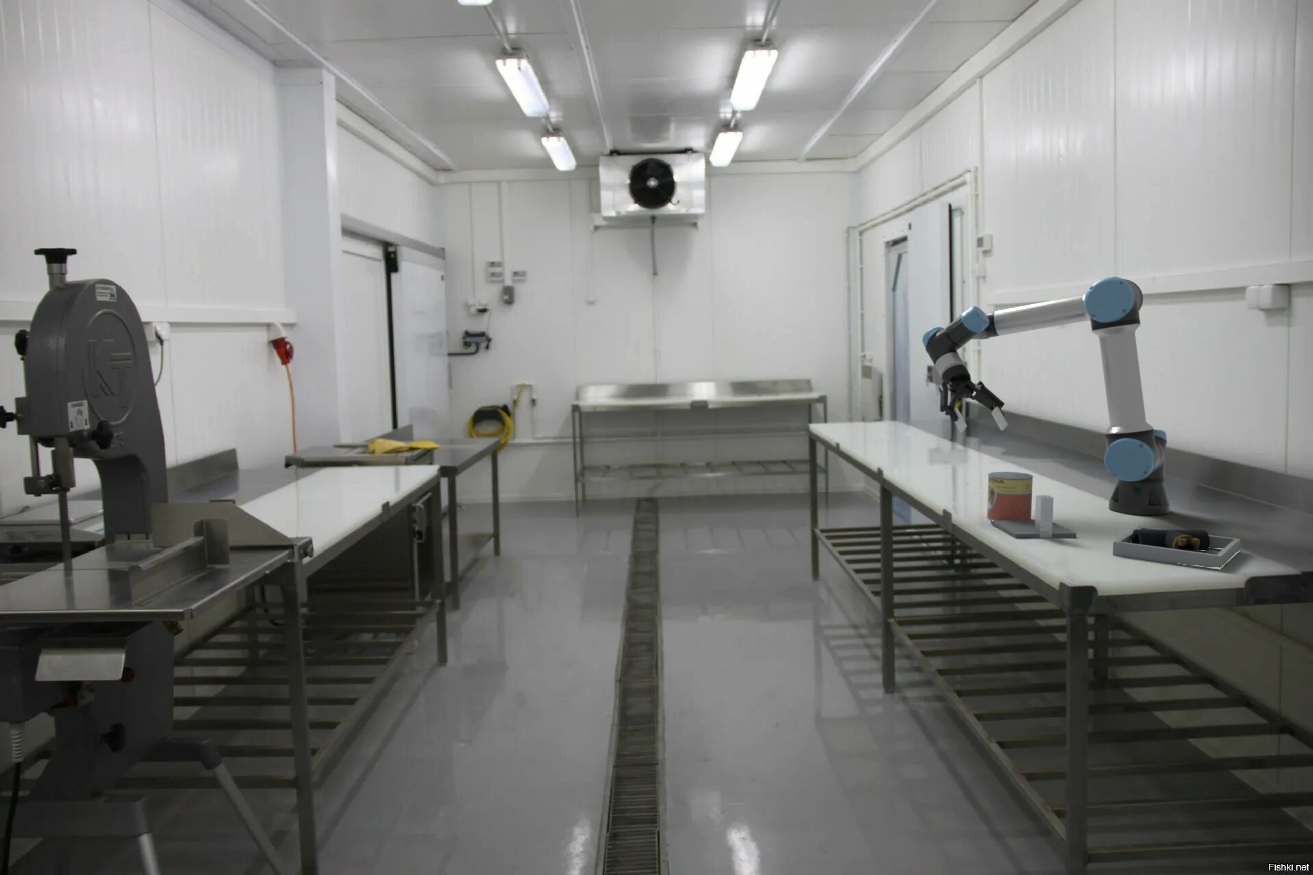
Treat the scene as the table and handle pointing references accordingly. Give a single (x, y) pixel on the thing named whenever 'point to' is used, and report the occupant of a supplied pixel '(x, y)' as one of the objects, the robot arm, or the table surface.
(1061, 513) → the table surface
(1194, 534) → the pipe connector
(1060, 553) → the table surface
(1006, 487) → the canned food
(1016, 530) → the rubber mat
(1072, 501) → the table surface
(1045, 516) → the block
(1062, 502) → the table surface
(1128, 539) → the parts corral
